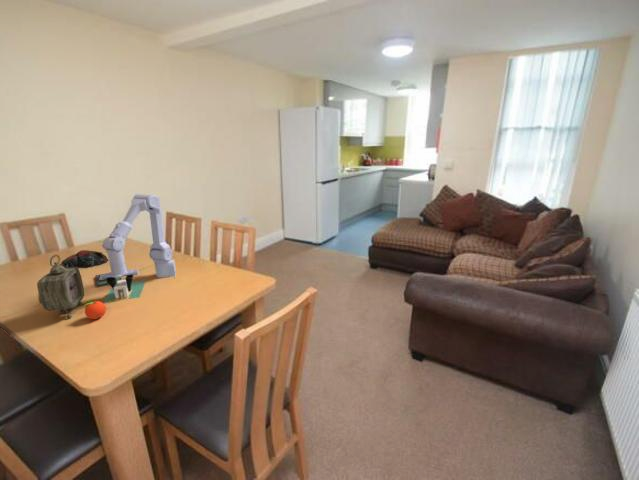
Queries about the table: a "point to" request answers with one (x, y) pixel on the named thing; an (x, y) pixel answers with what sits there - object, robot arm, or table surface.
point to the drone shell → (85, 259)
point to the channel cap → (119, 286)
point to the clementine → (95, 310)
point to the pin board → (134, 293)
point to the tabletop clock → (61, 288)
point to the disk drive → (103, 281)
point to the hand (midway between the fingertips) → (123, 291)
